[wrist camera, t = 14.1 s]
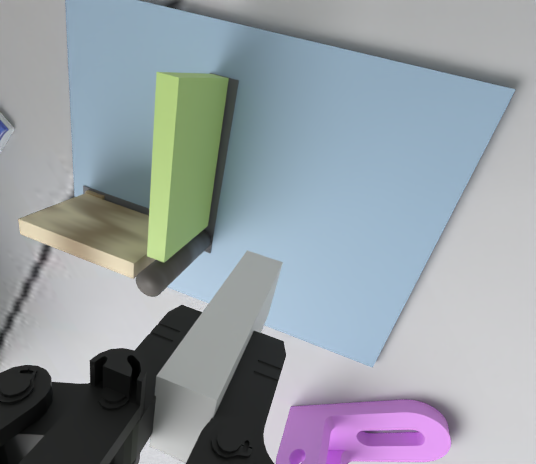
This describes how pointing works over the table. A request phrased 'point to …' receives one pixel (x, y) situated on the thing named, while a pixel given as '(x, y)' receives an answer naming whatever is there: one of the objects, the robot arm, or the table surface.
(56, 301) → the table surface
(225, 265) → the board
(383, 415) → the bracket
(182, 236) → the fence panel
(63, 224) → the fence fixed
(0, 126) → the hard drive
